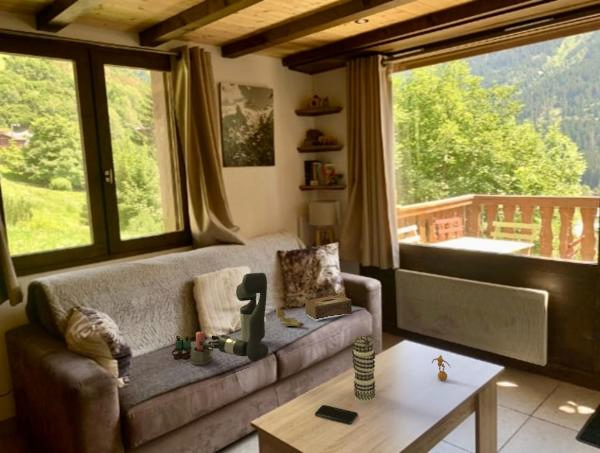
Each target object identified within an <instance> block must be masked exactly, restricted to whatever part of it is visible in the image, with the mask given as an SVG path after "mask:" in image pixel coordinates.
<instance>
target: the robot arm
mask: <svg viewBox="0 0 600 453" xmlns="http://www.w3.org/2000/svg"><path fill="white" fill-rule="evenodd" d="M235 290H236V291H235V296H236V298H237V299H238V301H240V302H248V301H249V302H248V303H246V304H244V305H242V306H241V307H240V309H239V313H240V315H239V316H240V331H241V334H240V335H241V339H238V338H235V337H231V336H228V335H226V334H221V335H215V334H214V335H211V340H209V341H205V342H204V341H199V345H200V346H203V349H204V350H209V351H212V352H213V351H214V349H218V350H219V351H220V352H221V353H223V354H229V355H232V356H238V357H247V359H248V360H249V361H251V362H253V363H255V362H258V361H259V360H263V359H264V358H266V357H267V356H268V355H269V352H270V350H269V347H268V345H267V344H266V343H264V342H262V340H263V339H264V338H265V336H266V328H265V327H266V326H265V324H266V323H265V320H266V319H265V315H266V308H267V294H268V279H267V276H266V273H265V272H252V273H251V272H250V273H245V274H244V275H243V276H242V281H241V283H240V284H238V285H237V286H236V289H235ZM257 294H259V298H257ZM257 300H258V302H257Z"/></svg>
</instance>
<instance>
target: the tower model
mask: <svg viewBox="0 0 600 453" xmlns="http://www.w3.org/2000/svg"><path fill="white" fill-rule="evenodd" d="M352 343H353V350H352V351H351V354H352V357H351V358H352V364H353V365H352V367H353V372H354V381H353V387H354V388H353V391H354V400H356V401H357V402H358V403H359V402H360V403H364V404H369V403H372V402H374V401H375V400H376V395H377V394H376V381H375V374H374V373H375V370H376V369H375V367H376V365H375V363H376V361H375V359H376V356H375V355H376V352H375V351H374V340H373V339H371V338H370V337H369V336H366V335H360V336H357V337H356V338H355V339H354V340H353V341H352Z"/></svg>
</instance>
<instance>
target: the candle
mask: <svg viewBox="0 0 600 453" xmlns="http://www.w3.org/2000/svg"><path fill="white" fill-rule="evenodd" d="M199 341H204V342H206V334H205V331H202V330H199V331H197V332H195V342H196V343H195V346H197V351H203V350H204V349H203V346H200V345H199Z"/></svg>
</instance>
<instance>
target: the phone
mask: <svg viewBox="0 0 600 453" xmlns="http://www.w3.org/2000/svg"><path fill="white" fill-rule="evenodd" d="M314 415H315V417H318V418H320V419H325V420H329V421H332V422H336V423H337V422H338V423H342V424H345V425H352V424H353V423H354V421H355V420H356V419H357V418H358V416H359V414H358V412H356V411H352V410H348V409H343V408H341V407H340V408H339V407H335V406H331V405H327V404H323V405H321V406H320V407H319V408H318V409H317V410H316V411H315V413H314Z"/></svg>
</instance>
